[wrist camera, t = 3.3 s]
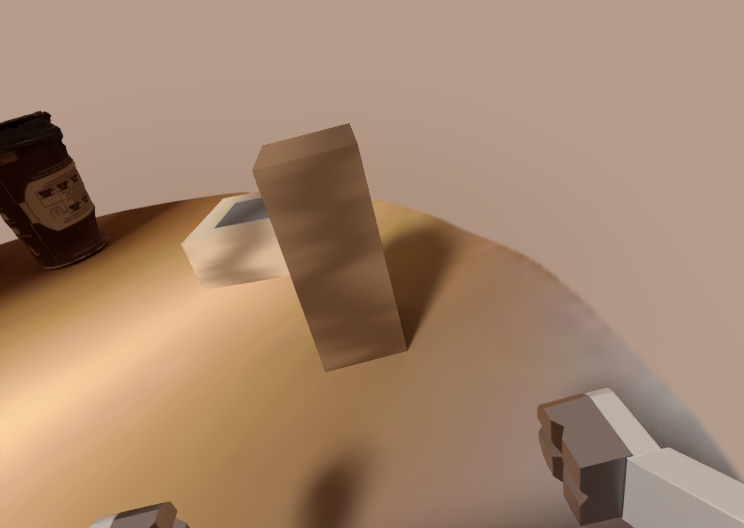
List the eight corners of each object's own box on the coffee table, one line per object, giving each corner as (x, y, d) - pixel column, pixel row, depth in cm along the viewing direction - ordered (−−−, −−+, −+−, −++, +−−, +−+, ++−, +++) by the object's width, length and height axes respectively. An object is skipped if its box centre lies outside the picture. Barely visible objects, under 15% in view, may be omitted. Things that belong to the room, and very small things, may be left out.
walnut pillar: (325, 371, 21) (252, 170, 17) (323, 323, 25) (262, 145, 20) (407, 350, 21) (357, 143, 17) (393, 304, 25) (349, 123, 20)
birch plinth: (205, 293, 32) (181, 243, 30) (240, 241, 39) (222, 198, 37) (313, 275, 31) (295, 222, 29) (329, 225, 38) (316, 179, 36)
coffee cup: (139, 227, 48) (73, 102, 42) (91, 267, 41) (3, 122, 34) (67, 241, 49) (-6, 122, 43) (10, 282, 42) (-89, 146, 36)
